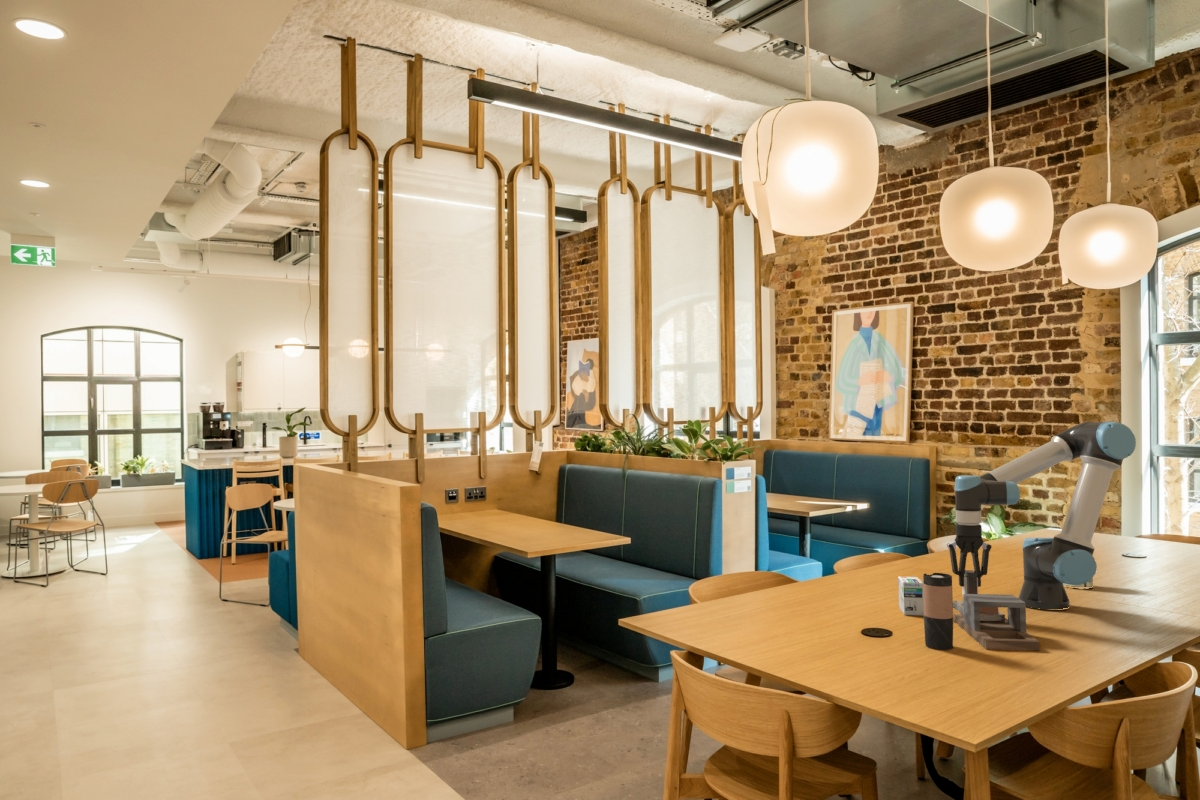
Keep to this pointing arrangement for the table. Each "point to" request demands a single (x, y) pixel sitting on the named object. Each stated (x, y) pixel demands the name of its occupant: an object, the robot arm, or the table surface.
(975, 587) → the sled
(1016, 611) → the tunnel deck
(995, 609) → the block
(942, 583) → the travel mug
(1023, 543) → the robot arm
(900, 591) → the light bulb box
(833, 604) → the table surface
